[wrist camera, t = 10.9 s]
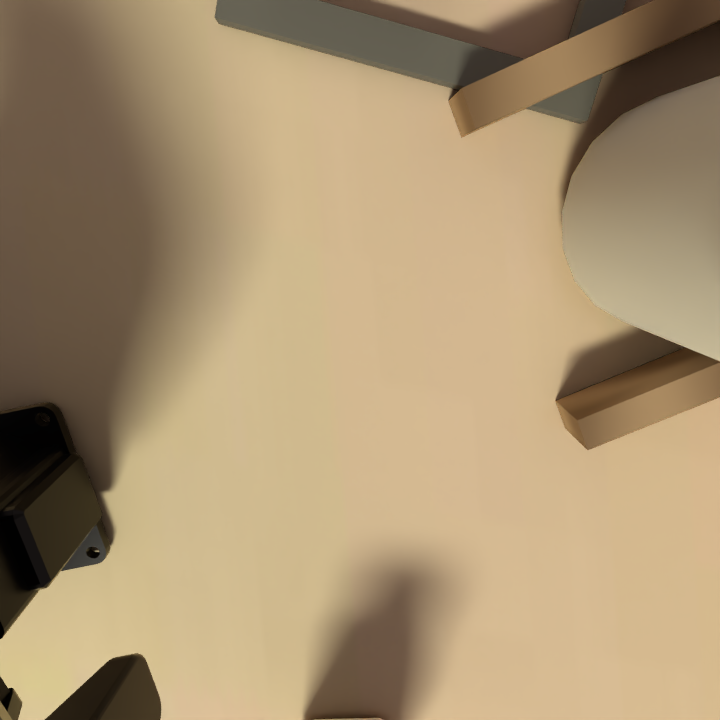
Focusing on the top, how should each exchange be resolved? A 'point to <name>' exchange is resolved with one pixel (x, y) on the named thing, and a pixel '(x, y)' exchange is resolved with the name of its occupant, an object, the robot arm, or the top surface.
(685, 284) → the can
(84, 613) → the top surface
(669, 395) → the dock
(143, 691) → the robot arm
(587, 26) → the holster frame
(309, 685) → the top surface
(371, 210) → the top surface
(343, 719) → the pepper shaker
